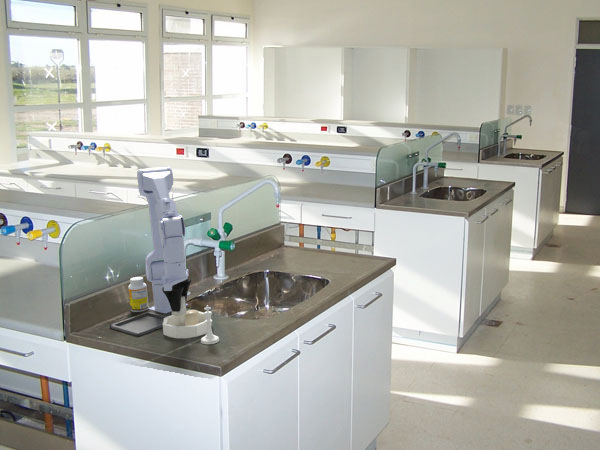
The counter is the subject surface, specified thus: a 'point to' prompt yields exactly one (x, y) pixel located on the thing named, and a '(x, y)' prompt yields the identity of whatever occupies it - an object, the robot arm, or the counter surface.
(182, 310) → the pebble grey
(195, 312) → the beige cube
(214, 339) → the chess piece
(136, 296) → the supplement bottle
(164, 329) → the bowl
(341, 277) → the counter surface
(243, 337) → the counter surface
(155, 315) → the tray
